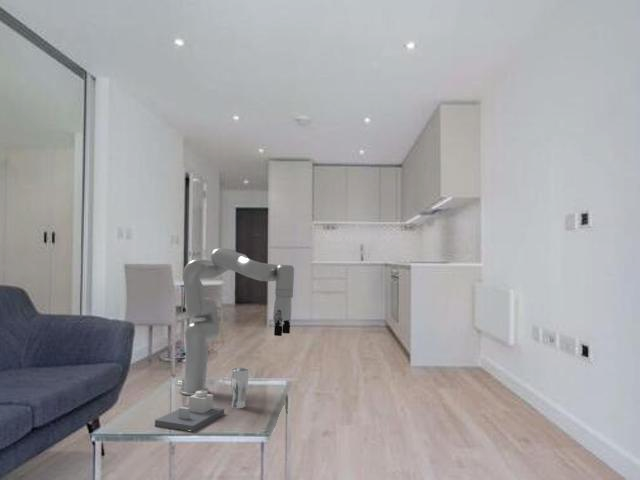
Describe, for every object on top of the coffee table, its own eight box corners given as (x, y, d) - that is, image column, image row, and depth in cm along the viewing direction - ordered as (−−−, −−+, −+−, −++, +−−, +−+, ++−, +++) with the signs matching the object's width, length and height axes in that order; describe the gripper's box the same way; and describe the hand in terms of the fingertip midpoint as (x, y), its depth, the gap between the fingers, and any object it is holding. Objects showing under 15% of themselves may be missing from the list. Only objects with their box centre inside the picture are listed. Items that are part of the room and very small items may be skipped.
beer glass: (239, 403, 188) (241, 367, 190) (250, 407, 184) (252, 369, 185) (226, 406, 183) (228, 369, 184) (237, 410, 179) (239, 371, 180)
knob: (203, 413, 167) (204, 394, 167) (187, 410, 169) (189, 392, 169) (212, 408, 173) (213, 390, 174) (197, 406, 175) (198, 388, 175)
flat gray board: (154, 425, 157) (155, 409, 157) (190, 409, 178) (191, 394, 178) (192, 431, 152) (193, 415, 153) (224, 414, 173) (224, 399, 174)
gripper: (282, 293, 201) (280, 331, 200) (268, 293, 184) (266, 336, 183) (298, 293, 199) (296, 333, 198) (285, 294, 182) (283, 337, 181)
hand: (282, 334), depth 190 cm, fingers open, 9 cm apart
